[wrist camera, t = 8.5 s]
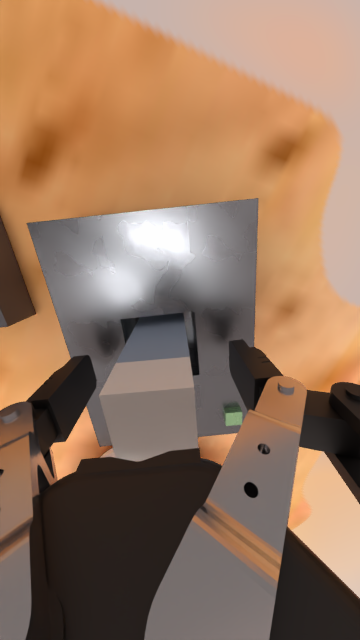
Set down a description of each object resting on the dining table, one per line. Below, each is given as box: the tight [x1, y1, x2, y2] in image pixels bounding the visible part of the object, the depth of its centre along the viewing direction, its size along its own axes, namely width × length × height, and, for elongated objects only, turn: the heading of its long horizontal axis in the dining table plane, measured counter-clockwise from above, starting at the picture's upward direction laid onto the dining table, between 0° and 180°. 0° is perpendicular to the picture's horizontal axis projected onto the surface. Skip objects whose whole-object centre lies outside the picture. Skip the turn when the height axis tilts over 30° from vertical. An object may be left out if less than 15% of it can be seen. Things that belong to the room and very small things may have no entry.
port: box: [27, 198, 258, 447], centre depth 15 cm, size 16×12×6 cm
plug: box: [99, 313, 198, 461], centre depth 12 cm, size 3×3×10 cm
